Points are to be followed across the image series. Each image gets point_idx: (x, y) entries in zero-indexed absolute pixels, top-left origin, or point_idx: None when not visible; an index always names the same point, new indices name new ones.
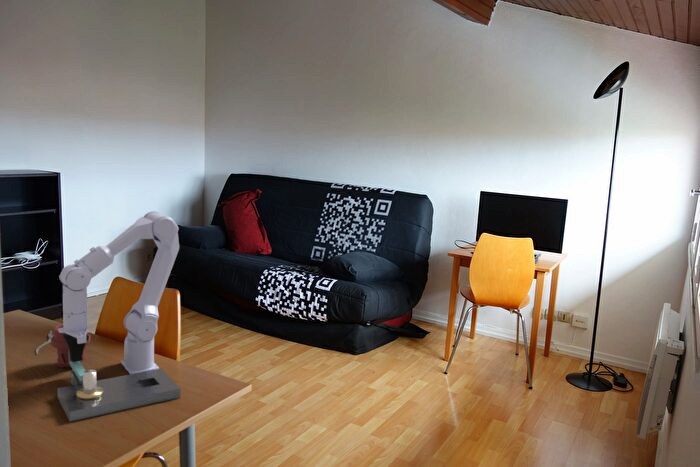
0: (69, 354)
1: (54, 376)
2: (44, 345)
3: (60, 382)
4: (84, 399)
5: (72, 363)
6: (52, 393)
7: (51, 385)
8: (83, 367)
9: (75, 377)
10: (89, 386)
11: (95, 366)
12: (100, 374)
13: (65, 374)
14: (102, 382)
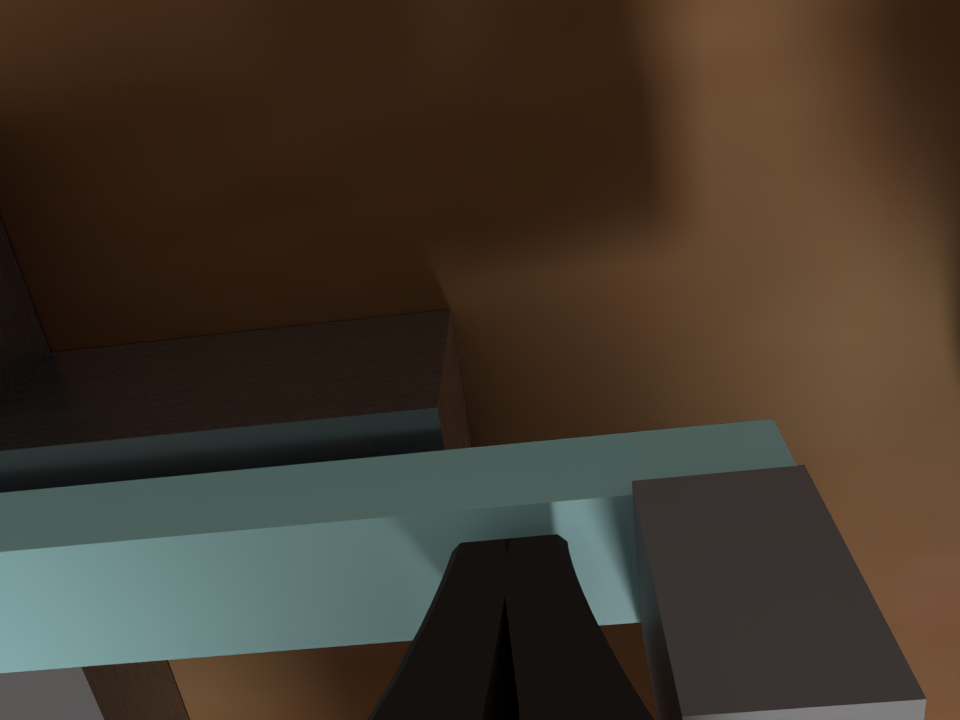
0: (703, 579)
1: (843, 88)
2: None
3: (542, 166)
4: None
5: (506, 512)
6: (131, 18)
7: (469, 18)
8: (238, 650)
9: (127, 450)
10: None
11: (915, 628)
12: (612, 646)
13: (837, 258)
14: (4, 708)
